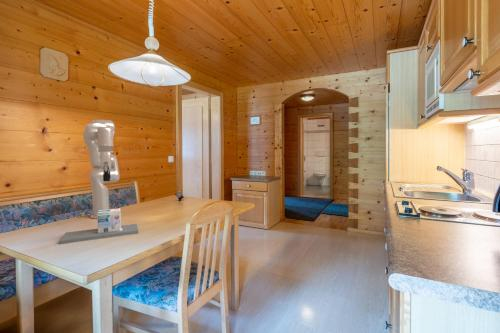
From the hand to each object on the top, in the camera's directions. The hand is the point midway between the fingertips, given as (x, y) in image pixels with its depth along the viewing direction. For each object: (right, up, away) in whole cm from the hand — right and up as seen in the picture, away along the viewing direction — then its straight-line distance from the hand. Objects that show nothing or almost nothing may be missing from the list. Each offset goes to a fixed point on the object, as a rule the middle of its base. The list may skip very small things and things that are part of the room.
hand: (107, 179), depth 148 cm
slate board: (+3, -28, -10) cm, 30 cm away
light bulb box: (+6, -27, -9) cm, 29 cm away
